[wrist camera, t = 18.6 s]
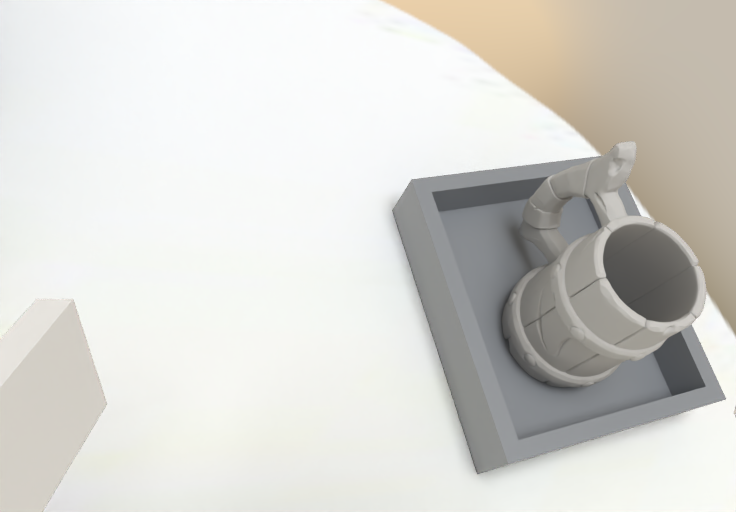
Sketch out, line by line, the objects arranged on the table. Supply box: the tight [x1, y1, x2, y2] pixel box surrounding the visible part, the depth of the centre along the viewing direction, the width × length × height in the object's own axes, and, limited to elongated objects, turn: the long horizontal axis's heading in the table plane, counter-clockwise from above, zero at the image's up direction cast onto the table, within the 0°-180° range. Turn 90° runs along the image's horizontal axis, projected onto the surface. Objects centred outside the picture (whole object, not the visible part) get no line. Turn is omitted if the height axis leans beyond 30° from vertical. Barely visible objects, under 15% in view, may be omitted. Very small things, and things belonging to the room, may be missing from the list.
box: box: [393, 156, 726, 474], centre depth 42 cm, size 17×15×4 cm
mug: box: [502, 141, 706, 387], centre depth 37 cm, size 8×12×12 cm, turn 17°
